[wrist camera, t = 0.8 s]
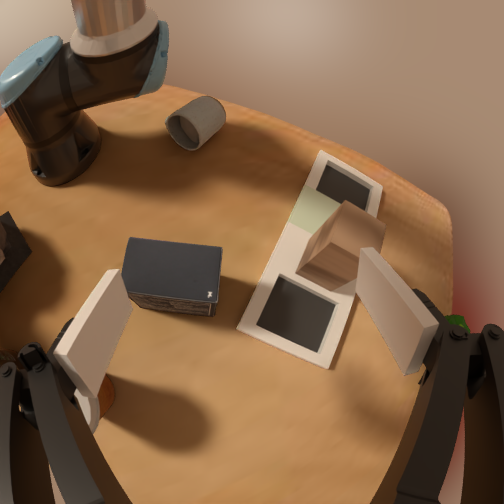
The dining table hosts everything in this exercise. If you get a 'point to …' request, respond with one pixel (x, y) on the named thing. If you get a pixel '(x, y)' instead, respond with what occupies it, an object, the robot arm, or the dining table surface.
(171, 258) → the small box
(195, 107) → the ceramic mug
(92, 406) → the disposable coffee cup
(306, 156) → the dining table surface
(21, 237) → the juicer
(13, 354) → the supplement bottle
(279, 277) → the trap board
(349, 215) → the walnut block
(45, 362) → the robot arm
